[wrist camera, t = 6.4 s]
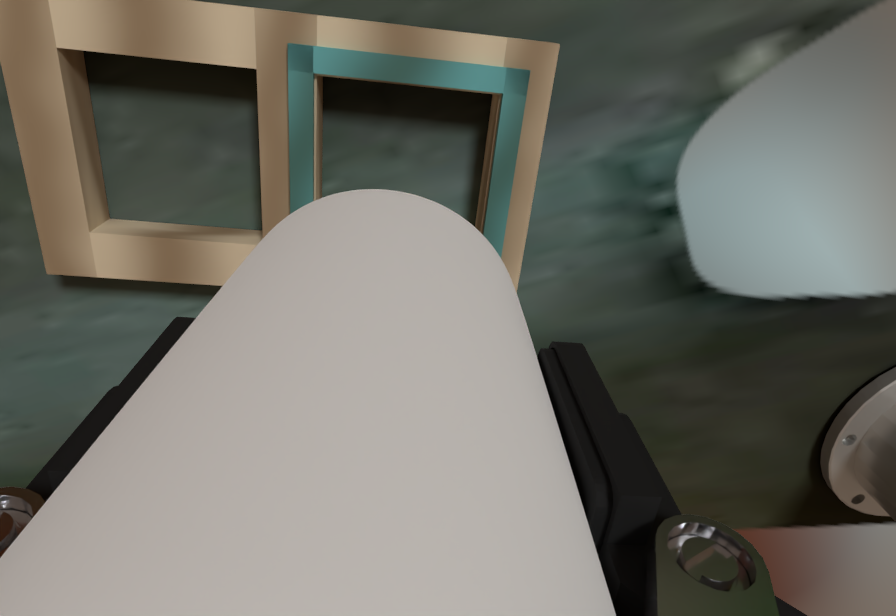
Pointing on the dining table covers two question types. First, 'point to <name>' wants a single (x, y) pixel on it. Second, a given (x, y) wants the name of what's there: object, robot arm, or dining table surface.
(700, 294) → the dining table surface
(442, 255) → the can
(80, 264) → the beige flat rectangular frame
